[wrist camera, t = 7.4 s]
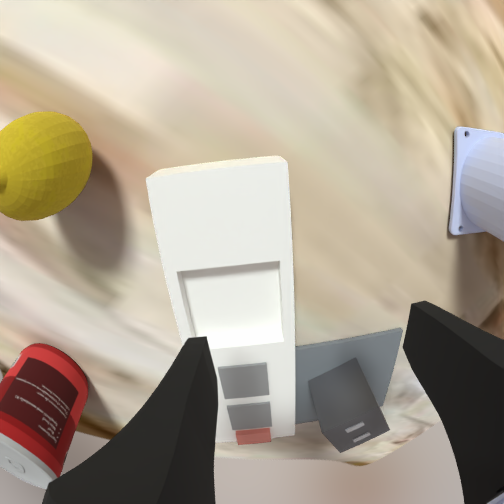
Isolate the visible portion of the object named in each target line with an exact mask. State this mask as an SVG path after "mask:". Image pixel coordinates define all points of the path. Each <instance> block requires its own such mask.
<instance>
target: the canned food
mask: <svg viewBox="0 0 504 504" xmlns="http://www.w3.org/2000/svg"><path fill="white" fill-rule="evenodd" d="M87 398H88V382H87V380H86V377H85V375H84V373H83V372H82V370H81V369H80V368H79V366H78V365H77V364H76V363H75V362H74V361H73V360H72V359H71V358H70V357H69V356H67V355H66V354H65V353H63V352H62V351H60V350H58V349H56V348H54V347H52V346H49V345H46V344H41V343H38V344H32V345H30V346H28V347H27V348H25V349H24V350H23V351H22V352H21V353H20V355H19V356H18V357H17V359H16V360H15V362H14V363H13V365H12V366H11V368H10V369H9V371H8V372H7V374H6V375H5V377H4V378H3V380H2V381H1V383H0V467H2V468H3V469H5V470H6V471H8V472H9V473H11V474H12V475H14V476H15V477H17V478H19V479H21V480H23V481H25V482H27V483H29V484H32V485H34V486H37V487H40V488H45V489H47V486H48V484H49V482H51V481H53V480H55V479H57V478H58V477H60V474H61V472H62V469H63V465H64V462H65V459H66V456H67V453H68V450H69V447H70V444H71V441H72V438H73V435H74V433H75V430H76V427H77V425H78V422H79V419H80V417H81V414H82V411H83V409H84V406H85V403H86V401H87Z"/></svg>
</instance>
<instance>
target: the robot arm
mask: <svg viewBox="0 0 504 504" xmlns="http://www.w3.org/2000/svg"><path fill="white" fill-rule="evenodd" d="M465 132H466V136H465ZM459 226H460V229H459ZM458 229H459V230H458ZM486 231H487V232H488V233H490V234H492V235H494V236H495V237H497V238H499V239H500V240H502V241H503V242H504V133H500V132H494V131H488V130H482V129H475V128H468V127H460V126H459V127H456V128H455V131H454V174H453V190H452V203H451V213H450V222H449V232H450V233H451V234H453V235H461V234H470V233H478V232H486ZM403 349H404V351H405V354H406V356H407V359H408V361H409V363H410V366H411V368H412V370H413V372H414V373H415V375H416V377H417V378H418V380H419V382H420V383H421V385H422V387H423V388H424V390H425V392H426V393H427V395H428V397H429V399H430V400H431V402H432V404H433V405H434V407H435V409H436V411H437V412H438V414H439V416H440V418H441V420H442V423H443V425H444V428H445V430H446V433H447V435H448V438H449V440H450V443H451V446H452V449H453V452H454V455H455V459H456V462H457V467H458V470H459V475H460V479H461V484H462V490H463V496H464V503H465V504H504V340H503V339H500V338H498V337H496V336H494V335H492V334H489V333H487V332H485V331H483V330H481V329H479V328H477V327H475V326H473V325H471V324H470V323H468V322H466V321H464V320H462V319H460V318H458V317H456V316H455V315H453V314H451V313H449V312H447V311H445V310H443V309H442V308H440V307H438V306H436V305H434V304H431V303H429V302H427V301H422V302H417V303H413V304H411V309H410V314H409V320H408V325H407V330H406V335H405V339H404V344H403ZM217 415H218V382H217V376H216V372H215V368H214V364H213V360H212V356H211V352H210V348H209V344H208V340H207V336H203V337H192V338H188V339H187V340H186V342H185V343H184V345H183V347H182V349H181V350H180V352H179V354H178V355H177V357H176V359H175V360H174V362H173V364H172V365H171V367H170V369H169V370H168V372H167V373H166V375H165V376H164V378H163V379H162V381H161V382H160V384H159V385H158V387H157V388H156V389H155V391H154V392H153V393H152V395H151V396H150V397H149V399H148V400H147V401H146V403H145V404H144V405H143V407H142V408H141V409H140V410H139V411H138V413H137V414H136V415H135V416H134V417H133V418H132V419H131V420H130V421H129V423H128V424H127V425H126V426H125V427H124V428H123V429H122V430H121V431H120V432H119V433H118V434H117V435H116V436H115V437H113V438H112V439H111V440H110V441H109V442H108V443H107V444H106V445H105V446H103V447H102V448H101V449H100V450H98V451H97V452H96V453H95V454H93V455H92V456H91V457H89V458H88V459H87V460H85V461H84V462H82V463H81V464H80V465H78V466H77V467H75V468H74V469H72V470H70V471H68V472H67V473H65V474H63V475H62V476H60V477H58V478H57V479H55V480H53V481H51V482H49V484H48V486H47V489H46V492H45V495H44V499H43V502H42V504H215V491H214V490H215V489H214V452H215V439H216V428H217Z"/></svg>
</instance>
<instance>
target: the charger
mask: <svg viewBox="0 0 504 504" xmlns="http://www.w3.org/2000/svg"><path fill="white" fill-rule="evenodd" d="M308 383H309V387H310V390H311V394H312V397H313V401H314V405H315V408H316V412H317V416H318V420H319V423H320V427H321V431H322V433H323V434H324V435H325V437H326V438H327V439H328V440H329V441H330V442H331V443H332V444H333V445H334V446H335V448H336V449H337V450H338V451H339V452H340V453H341V452H343V451H346V450H348V449H350V448H353V447H355V446H357V445H360V444H362V443H364V442H366V441H368V440H370V439H373V438H375V437H377V436H379V435H381V434H383V433H385V432H387V431H389V430H390V429H389V427H388V425H387V422H386V420H385V418H384V416H383V413H382V411H381V409H380V407H379V404H378V402H377V400H376V398H375V396H374V393H373V391H372V389H371V387H370V385H369V383H368V381H367V379H366V376H365V374H364V372H363V370H362V368H361V366H360V364H359V362H358V360H357V358H356V357H355V358H353V359H351V360H349V361H347V362H345V363H343V364H341V365H339V366H337V367H335V368H333V369H331V370H329V371H327V372H325V373H323V374H321V375H319V376H317V377H315V378H313V379H310V380H308Z"/></svg>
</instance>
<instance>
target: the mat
mask: <svg viewBox="0 0 504 504" xmlns="http://www.w3.org/2000/svg"><path fill="white" fill-rule="evenodd" d="M402 332H403V330H402V329H401V328H397V329H392V330H388V331H383V332H378V333H373V334H368V335H363V336H357V337H352V338H346V339H341V340H335V341H329V342H323V343H316V344H310V345H303V346H296V347H295V424H299V423H305V422H311V421H317V420H318V416H317V412H316V408H315V405H314V401H313V397H312V394H311V390H310V387H309V383H308V380H310V379H313V378H315V377H317V376H319V375H321V374H323V373H325V372H327V371H329V370H331V369H333V368H335V367H337V366H339V365H341V364H343V363H345V362H347V361H349V360H351V359H353V358H355V357H356V358H357V360H358V362H359V364H360V366H361V368H362V370H363V372H364V374H365V376H366V379H367V381H368V383H369V385H370V387H371V389H372V391H373V393H374V396H375V398H376V400H377V402H378V404H379V407H380V406H383V403H384V400H385V396H386V393H387V390H388V386H389V383H390V379H391V376H392V372H393V369H394V365H395V361H396V357H397V353H398V349H399V345H400V340H401V336H402Z"/></svg>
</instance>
